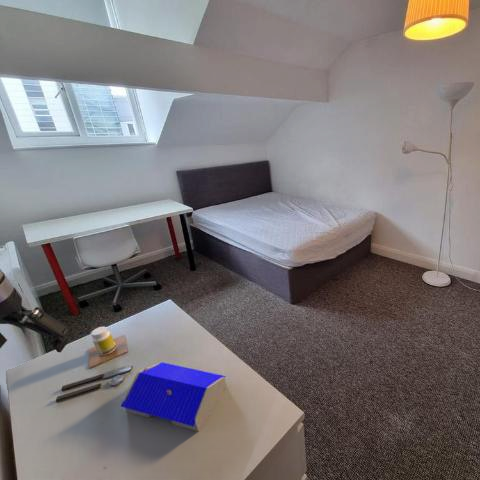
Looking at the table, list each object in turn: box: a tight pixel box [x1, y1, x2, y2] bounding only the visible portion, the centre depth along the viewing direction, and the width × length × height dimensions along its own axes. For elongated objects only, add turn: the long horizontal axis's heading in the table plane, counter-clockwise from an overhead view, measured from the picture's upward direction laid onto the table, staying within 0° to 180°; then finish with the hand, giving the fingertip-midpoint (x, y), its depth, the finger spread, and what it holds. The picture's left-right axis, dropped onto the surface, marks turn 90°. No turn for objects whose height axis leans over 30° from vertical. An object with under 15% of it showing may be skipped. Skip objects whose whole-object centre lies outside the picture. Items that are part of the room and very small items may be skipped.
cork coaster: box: [88, 334, 129, 369], centre depth 90 cm, size 10×10×1 cm
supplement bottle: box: [90, 326, 116, 355], centre depth 88 cm, size 5×5×8 cm
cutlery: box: [55, 364, 133, 403], centre depth 78 cm, size 17×6×1 cm, turn 113°
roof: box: [120, 362, 228, 432], centre depth 72 cm, size 22×14×7 cm, turn 76°
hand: (32, 346), depth 71 cm, fingers open, 13 cm apart
